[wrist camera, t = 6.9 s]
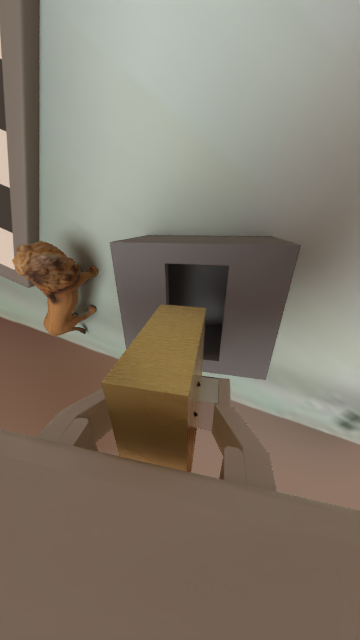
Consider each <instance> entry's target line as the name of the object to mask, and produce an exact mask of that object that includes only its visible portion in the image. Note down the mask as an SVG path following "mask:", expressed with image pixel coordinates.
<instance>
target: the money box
mask: <svg viewBox="0 0 360 640" xmlns="http://www.w3.org/2000/svg"><path fill="white" fill-rule="evenodd" d="M300 246H301V245H298V244H295V243H291V242H288V241H285V240H282V239H278V238H275V237H272V236H171V235H147V236H141V237H136V238H130V239H125V240H119V241H114V242H110V248H111V254H112V261H113V267H114V274H115V280H116V286H117V293H118V299H119V306H120V312H121V319H122V325H123V331H124V338H125V344H126V349H127V348H128V347H129V345H130V344H131V343H132V342H133V340H134V339H135V338H136V336H137V335H138V334H139V332H140V331H141V330H142V328H143V327H144V326H145V325H146V323H147V322H148V321H149V319H150V318H151V317H152V315H153V314H154V313H155V311H156V310H157V309H158V307H159V306H160V305H161V304H163V305H177V306H190V307H204V308H206V318H205V334H204V351H203V367H202V371H203V372H210V373H218V374H225V375H233V376H240V377H248V378H256V379H263V380H266V376H267V373H268V369H269V365H270V361H271V357H272V353H273V349H274V346H275V342H276V338H277V334H278V330H279V326H280V323H281V319H282V315H283V311H284V307H285V303H286V299H287V296H288V292H289V288H290V284H291V280H292V276H293V273H294V269H295V265H296V261H297V257H298V253H299V249H300Z"/></svg>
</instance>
